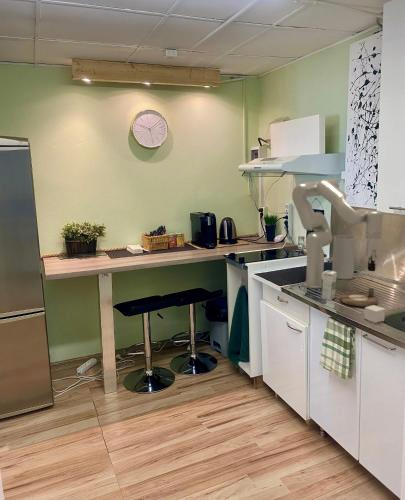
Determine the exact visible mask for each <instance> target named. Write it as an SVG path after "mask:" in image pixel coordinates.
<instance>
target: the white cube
mask: <svg viewBox="0 0 405 500" xmlns="http://www.w3.org/2000/svg"><path fill="white" fill-rule="evenodd" d="M385 311H386V309H385V308H384V307H381V306H378V305H376V304H375V305H372V306H364V316H363V319H364V318H365V319H368V320H370V321H374V322H378V321H383V322H385V315H386V314H385V313H386V312H385Z"/></svg>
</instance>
